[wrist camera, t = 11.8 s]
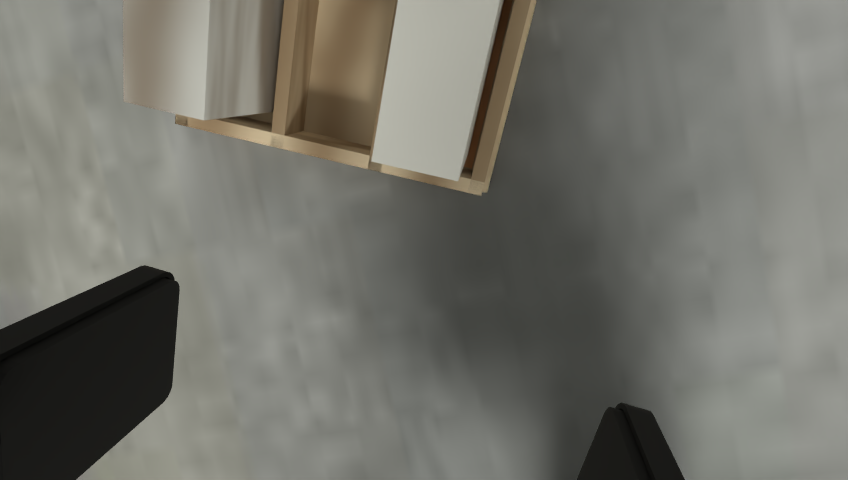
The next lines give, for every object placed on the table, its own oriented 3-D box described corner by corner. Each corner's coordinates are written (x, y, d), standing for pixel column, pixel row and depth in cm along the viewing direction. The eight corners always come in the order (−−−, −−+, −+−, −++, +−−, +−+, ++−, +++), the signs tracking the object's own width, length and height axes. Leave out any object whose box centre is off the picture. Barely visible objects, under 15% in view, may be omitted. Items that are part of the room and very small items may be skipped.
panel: (509, -25, 26) (517, -76, 18) (468, 153, 30) (458, 181, 21) (439, -39, 27) (413, -96, 18) (405, 139, 30) (371, 161, 21)
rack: (551, -58, 26) (582, -137, 17) (487, 189, 31) (484, 234, 22) (219, -124, 28) (78, -231, 18) (206, 123, 33) (89, 139, 23)
